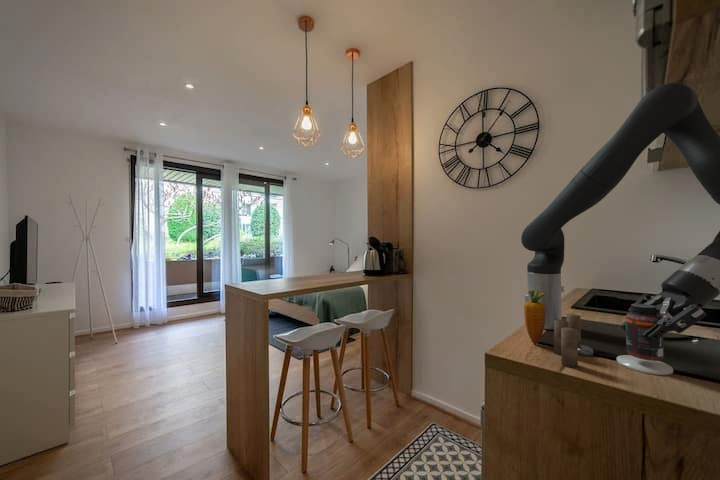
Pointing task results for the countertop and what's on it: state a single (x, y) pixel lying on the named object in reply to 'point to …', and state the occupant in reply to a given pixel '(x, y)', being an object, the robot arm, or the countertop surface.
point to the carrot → (534, 316)
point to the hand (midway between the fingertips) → (635, 334)
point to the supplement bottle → (636, 326)
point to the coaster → (645, 365)
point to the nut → (585, 350)
